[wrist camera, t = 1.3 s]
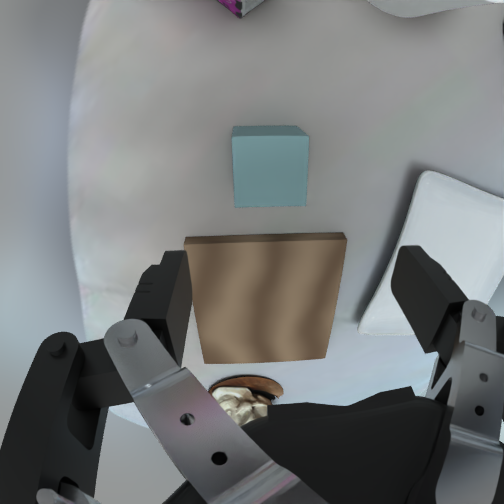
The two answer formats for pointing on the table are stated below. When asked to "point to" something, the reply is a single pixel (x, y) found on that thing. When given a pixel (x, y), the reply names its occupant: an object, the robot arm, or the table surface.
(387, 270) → the salad plate
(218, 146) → the table surface
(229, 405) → the skull
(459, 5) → the bracket
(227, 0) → the candy bar box
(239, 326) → the walnut board
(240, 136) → the slate cube
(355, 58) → the table surface
